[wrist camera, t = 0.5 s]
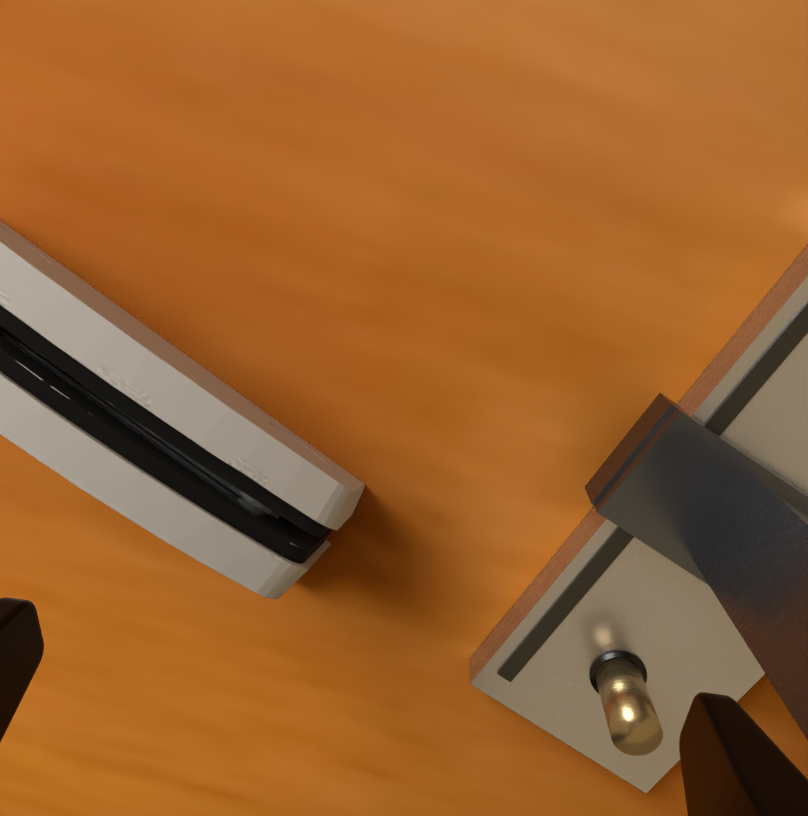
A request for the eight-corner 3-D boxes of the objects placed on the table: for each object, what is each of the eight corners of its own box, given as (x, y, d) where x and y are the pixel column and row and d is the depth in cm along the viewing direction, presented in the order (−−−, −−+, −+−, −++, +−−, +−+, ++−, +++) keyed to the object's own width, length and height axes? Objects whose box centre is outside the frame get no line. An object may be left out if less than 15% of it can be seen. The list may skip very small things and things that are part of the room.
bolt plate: (637, 763, 28) (667, 865, 23) (470, 659, 27) (469, 743, 23) (1060, 326, 22) (1206, 353, 17) (859, 181, 21) (958, 173, 17)
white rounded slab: (-75, 323, 25) (-335, 266, 15) (6, 221, 26) (-197, 101, 16) (296, 584, 27) (278, 686, 17) (368, 484, 27) (393, 527, 17)
